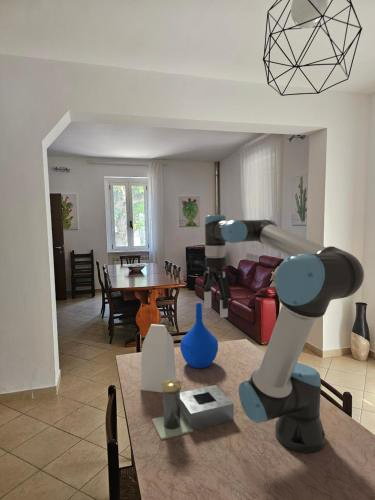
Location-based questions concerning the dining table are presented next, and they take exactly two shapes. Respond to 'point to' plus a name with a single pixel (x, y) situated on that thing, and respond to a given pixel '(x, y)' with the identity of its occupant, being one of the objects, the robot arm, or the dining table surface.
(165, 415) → the grey and gold cylinder
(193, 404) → the housing
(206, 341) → the vase
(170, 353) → the milk
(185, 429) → the mat
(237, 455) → the dining table surface
